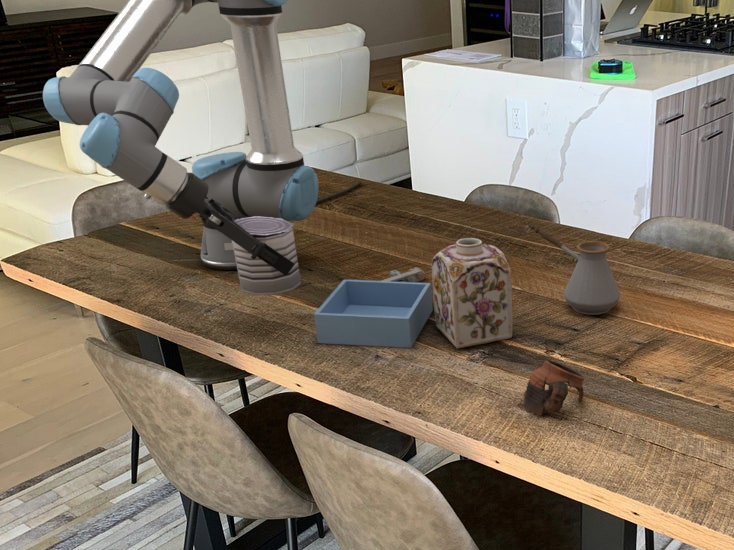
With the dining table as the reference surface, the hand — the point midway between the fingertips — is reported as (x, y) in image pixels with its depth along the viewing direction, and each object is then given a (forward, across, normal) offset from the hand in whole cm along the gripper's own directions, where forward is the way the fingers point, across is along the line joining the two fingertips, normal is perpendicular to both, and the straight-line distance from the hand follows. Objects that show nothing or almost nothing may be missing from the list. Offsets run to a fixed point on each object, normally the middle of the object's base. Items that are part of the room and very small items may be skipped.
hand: (281, 259), depth 164 cm
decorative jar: (+29, +23, +12) cm, 39 cm away
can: (+1, 0, -5) cm, 5 cm away
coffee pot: (+46, +19, +28) cm, 57 cm away
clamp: (+25, -6, +8) cm, 27 cm away
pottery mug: (+28, +56, +11) cm, 63 cm away
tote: (+18, +12, +1) cm, 21 cm away
